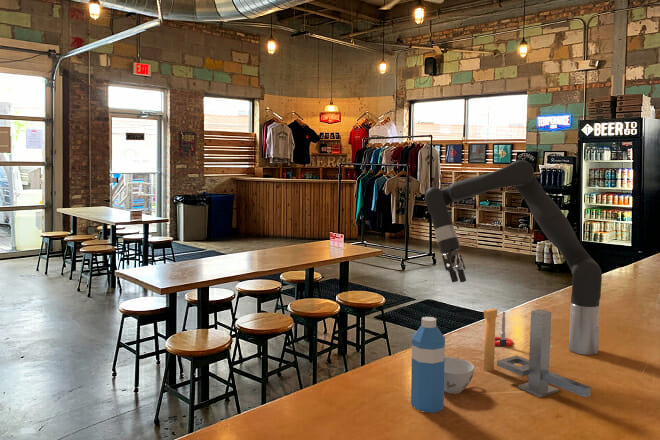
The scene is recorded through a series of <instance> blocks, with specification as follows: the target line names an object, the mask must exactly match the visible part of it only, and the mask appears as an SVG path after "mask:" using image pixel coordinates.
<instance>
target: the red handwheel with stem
mask: <svg viewBox="0 0 660 440" xmlns="http://www.w3.org/2000/svg"><path fill="white" fill-rule="evenodd" d="M505 316H506V311H502V316H501V332H500V336H495V347H497V346H498V347H504V348H505V347H511V348H512V347H513V339H511V338H507V337H506V317H505Z"/></svg>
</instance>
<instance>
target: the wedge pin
mask: <svg viewBox="0 0 660 440" xmlns="http://www.w3.org/2000/svg"><path fill="white" fill-rule="evenodd" d="M496 318H498V309H495V308H490V309H485V310H483V319H485V320H484V321H485V322H484V347H483V348H484V349H483V350H484V352H483V357H484V358H483V370H484V371H487V372H494V371H495V352H496V351H495V347H496V346H495V341H496V340H495V337H496V323H497V322H496V320H497V319H496Z"/></svg>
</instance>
